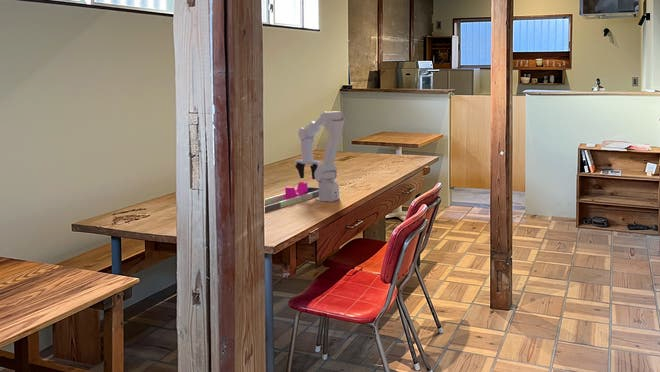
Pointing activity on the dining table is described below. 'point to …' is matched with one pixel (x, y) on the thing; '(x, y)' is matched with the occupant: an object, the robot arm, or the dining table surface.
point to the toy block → (296, 190)
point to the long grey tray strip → (311, 194)
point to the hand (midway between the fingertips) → (308, 178)
